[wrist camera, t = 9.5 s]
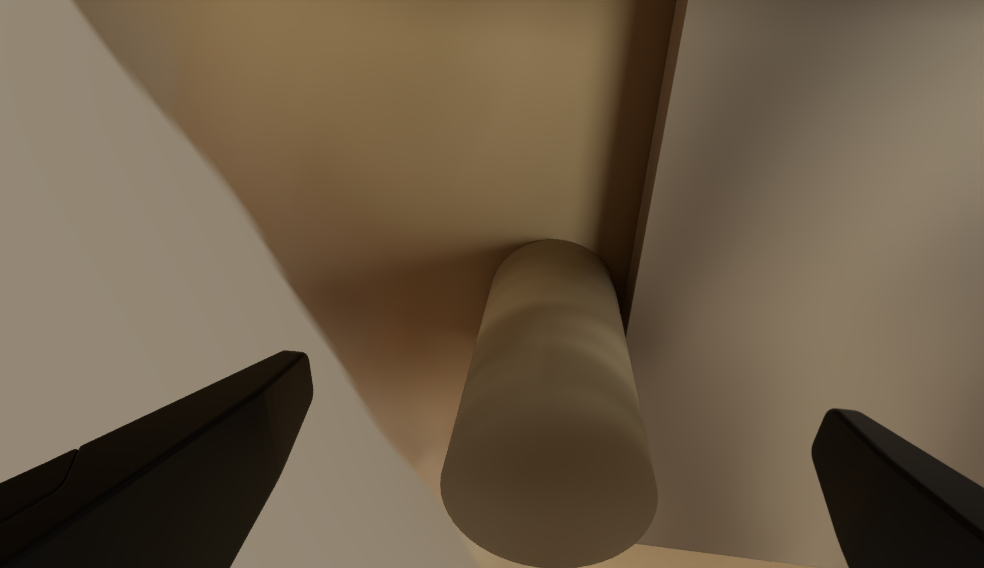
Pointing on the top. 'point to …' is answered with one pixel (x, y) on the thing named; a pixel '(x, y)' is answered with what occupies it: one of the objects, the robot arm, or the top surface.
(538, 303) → the oak dowel
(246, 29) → the top surface
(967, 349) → the board
